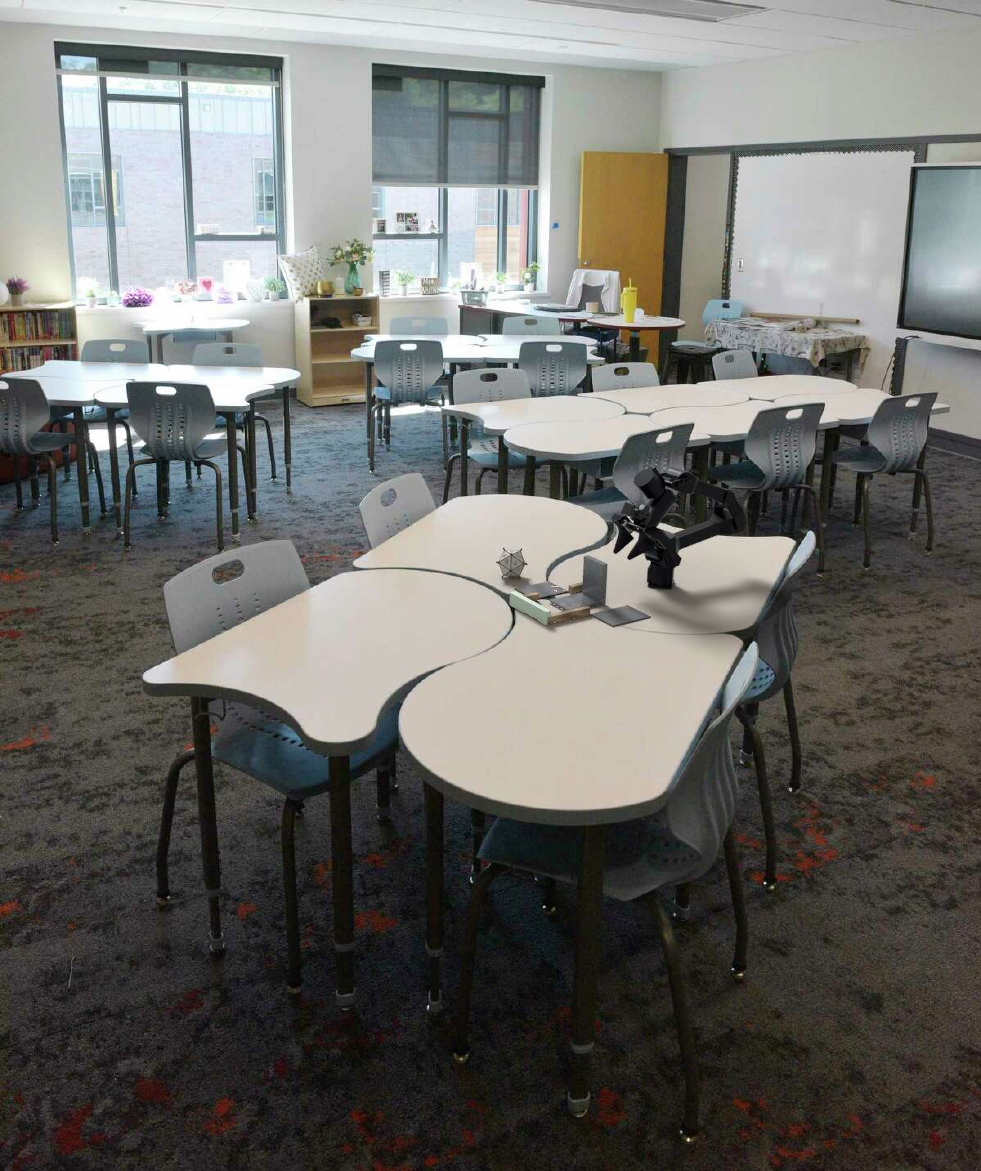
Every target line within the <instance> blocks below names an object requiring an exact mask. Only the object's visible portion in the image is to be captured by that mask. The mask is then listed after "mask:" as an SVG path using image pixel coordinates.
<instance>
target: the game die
mask: <svg viewBox="0 0 981 1171" xmlns="http://www.w3.org/2000/svg"><path fill="white" fill-rule="evenodd" d="M502 550H503V551H502V554H501V556H500V558H499V560H498V561H496V562H495V563H496V564H497V565H499V566H498V567H499V568H500V571H501V573H502V575H501V579H503V578H504V577H518V578H519V580H522V576H521V574H522V573H523V570H524V568H525V566H528V563H527V562H526V561H525V558H524V556H523V552H522V551H523V548H521V547H520V549H519V550H515V549H505V547H502Z"/></svg>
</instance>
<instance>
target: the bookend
mask: <svg viewBox="0 0 981 1171" xmlns="http://www.w3.org/2000/svg"><path fill="white" fill-rule="evenodd" d="M582 564H583V568H582V582H583V586H582V592H578V593H574V594H570V595H565V596H559V597H556V598H551V599H549V600H548V602H549V601H550V602H551V603H552V604H555V605H556V606H558V607H559V608H562V609H563V610H565V611H566V610H570V609H575V608H579V607H583V606H588V607H590V609H591V608H597V607H600V606H605V605H606V602H607V600H606V599H607V583H608V563H607V562H604V561H603V560H600V559H598V558H595V557H594V556H591V555H584V556H583V563H582ZM604 604H605V605H604ZM559 608H558V609H559ZM563 610H562V611H563Z"/></svg>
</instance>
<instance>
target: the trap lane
mask: <svg viewBox="0 0 981 1171" xmlns="http://www.w3.org/2000/svg"><path fill="white" fill-rule="evenodd" d="M551 586H558V585H557V584H555V583H553V582H551V581H549V580H548V581H543V582H539V583H534V584H530V585H525V586H519V587H516V588H514V590H515V591H516V592H518V593H519V594H521V595H523V596H525V597H526V598H528V599H530V600H532V601H537V600H539V601H540V599H543V598H548V597H552V596H557V594H558V595H561V594H560V593H563V594H566V593H565V592H567V593H569V592H570V593H569V594H571V593H574V594H577V593H576V592H578V593H581V592H580V591H582V586H583V581H582V582H576V583H572V584H568V590H567V589H565V588H563V587H561V586H559V587H551ZM554 590H557V592H556V591H554ZM563 590H565V591H563ZM588 616H591V617H593V618H594V619H597V620H599V621H601V622H602V623H605V624H606V625H608V626H610V627H612V628H614V627H618V626H621V625H625V624H630V623H634V622H638V621H642V620H647V619H650V618H651V617H652V616H650V615H649V614H647V613H645V612H643V611H641V610H638V609H636V608H634V607H632V606H630V605H629V604H627V605H623V606H618V607H615V608H614V607H613V608H609V609H606V610H601V611H597V612H594V613H591V608H590V607H588V606H583V607H579V608H575V609H570V610H566V611H563V610H561V611H559V612H553V613H551V617H548V623H547V624H550V625H552V624H551V623H554V622H559V623H562V621H563V622H567V621H570V620H569V619H571V620H574V619H573V618H576V619H579V618H578V617H580V618H584V617H588ZM566 620H567V621H566ZM554 624H555V623H554Z"/></svg>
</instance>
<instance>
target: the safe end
mask: <svg viewBox="0 0 981 1171" xmlns="http://www.w3.org/2000/svg"><path fill="white" fill-rule="evenodd" d="M523 595H524V594H522V593H520V592H518V591H516V590H515V591H510V592H509V606H511V607H512V608H514V609H516V610H518V611H519V612H521V613H523V614H524V613H526V614H528V615H529V616H528V615H527V616H528V617H530V616H531V617H530V618H532V617H534V618H535V619H537V620H538V623H540V622H542V623H543V625H544V624H545V625H544V626H548V625H547V623H548V617H551V614H552V610H551V609H549V608H546V607H545V606H543V605H541V604H539V603H537V602H534V601H532V600H530V599H528V598H526V597H525V596H523ZM526 614H525V615H526ZM535 619H534V620H535ZM537 620H536V621H537ZM542 623H541V624H542Z"/></svg>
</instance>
